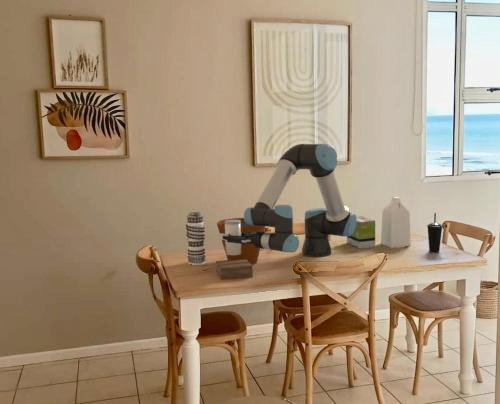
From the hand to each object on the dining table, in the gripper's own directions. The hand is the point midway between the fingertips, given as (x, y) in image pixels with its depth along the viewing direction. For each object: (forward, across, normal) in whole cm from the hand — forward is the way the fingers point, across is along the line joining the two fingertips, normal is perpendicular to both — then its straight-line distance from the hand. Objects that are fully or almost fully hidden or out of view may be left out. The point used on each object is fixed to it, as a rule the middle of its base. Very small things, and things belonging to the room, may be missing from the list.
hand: (224, 234), depth 254 cm
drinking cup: (-64, +89, -18) cm, 111 cm away
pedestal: (-5, 0, -18) cm, 18 cm away
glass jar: (-5, 0, -8) cm, 9 cm away
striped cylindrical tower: (+24, +6, -18) cm, 30 cm away
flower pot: (+6, +20, -18) cm, 27 cm away
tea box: (-25, +84, -18) cm, 89 cm away
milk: (-41, +94, -18) cm, 104 cm away
